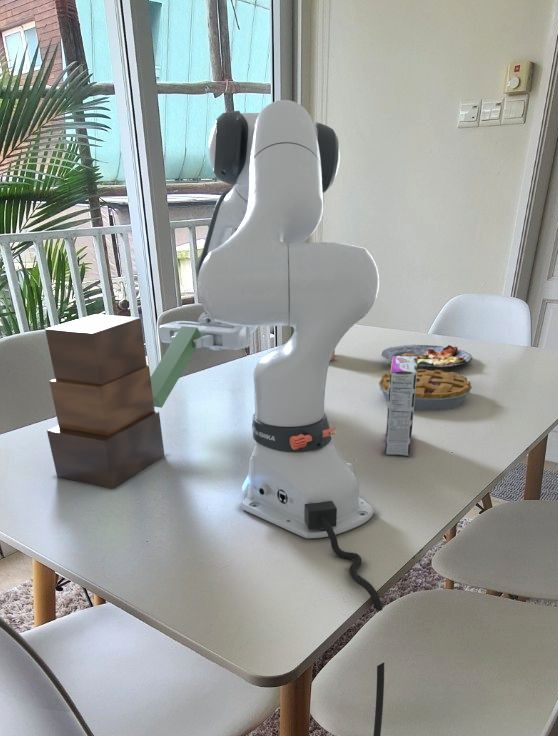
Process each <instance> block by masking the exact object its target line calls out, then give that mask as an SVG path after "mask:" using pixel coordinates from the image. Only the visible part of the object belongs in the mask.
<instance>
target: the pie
mask: <svg viewBox="0 0 558 736" xmlns="http://www.w3.org/2000/svg"><path fill="white" fill-rule="evenodd" d="M467 378H468V377H466V376H465V375H458V373H457V372H455V371H450V372H449V371H448V372H446V371H443V369H437V368H436V369H434V370H428V369H426V368H419V369H417V376H416V389H415V401H414V410H417V411H443V410H450V409H454V408H456V407H458V406H460V405H461V404H462V402H463V400H464V399H465V398H466V396H468V395H470V393H471V390H472V389H473V386H472V384H471V381H470V380H468V379H467ZM389 382H390V372H389V374H388V373H384V374H383V375H382V376H381V379H380V380H379V381H378V383H377V384H378V388H379V390H380V391H381V392H382V394H383V397H384V399H385V401H386V402H387V403H388V397H389Z"/></svg>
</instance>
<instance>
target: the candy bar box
mask: <svg viewBox="0 0 558 736" xmlns="http://www.w3.org/2000/svg"><path fill="white" fill-rule="evenodd" d="M417 370H418V367H417V357H414V356H393V358H392V361H391V366H390V370H389V373H390V382H389V397H388V402H387V415H386V433H385V451H384V454H385V455H386V456H395V457H396V456H399V457H410V454H411V445H412V435H413V423H414V414H415V413H414V412H415V409H414V401H415V389H416V376H417Z"/></svg>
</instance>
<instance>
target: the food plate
mask: <svg viewBox="0 0 558 736" xmlns="http://www.w3.org/2000/svg"><path fill="white" fill-rule="evenodd" d="M458 348H459V346H452V345H451V344H447V345H446V346H443V345H428V344H403V345H397V346H391V347H387V348H385V349H383V350H382V352H381V355H380V356H381V357H382V358H384V359H385V360H388V361H390V362H392V358H393V356H414V357H417V368H418V367H422V368H423V367H426V368H427V369H430V367H434V368H452V367H457V366H464V365H465V364H469V363H470V362H471V361H472V359H473V356H472V354H471V353H468V352H467V351H465V350H463V349H458Z"/></svg>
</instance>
